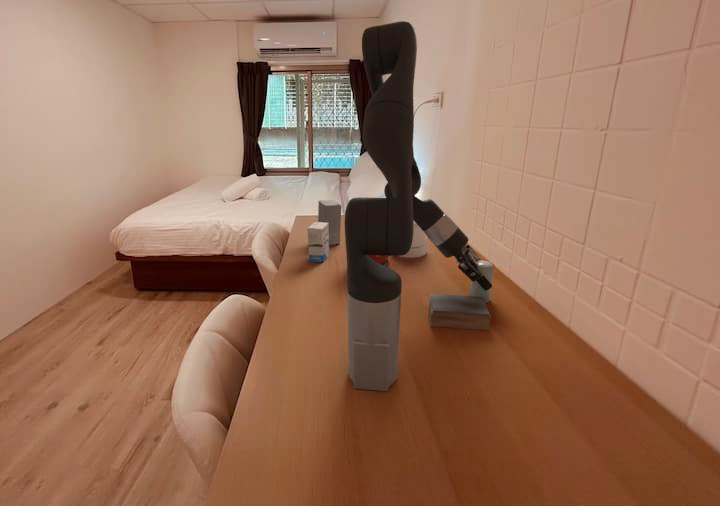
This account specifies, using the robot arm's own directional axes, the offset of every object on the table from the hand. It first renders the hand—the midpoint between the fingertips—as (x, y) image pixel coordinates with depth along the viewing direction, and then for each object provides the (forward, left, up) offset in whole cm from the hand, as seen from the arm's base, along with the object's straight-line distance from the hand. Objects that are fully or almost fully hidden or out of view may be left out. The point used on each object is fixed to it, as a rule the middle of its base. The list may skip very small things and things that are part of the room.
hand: (488, 283), depth 96 cm
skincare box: (+41, +51, -5) cm, 66 cm away
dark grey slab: (-11, +9, -5) cm, 15 cm away
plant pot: (+18, +33, -5) cm, 38 cm away
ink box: (+24, +51, -5) cm, 57 cm away
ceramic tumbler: (0, +2, -5) cm, 5 cm away
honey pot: (+35, +21, -5) cm, 41 cm away
